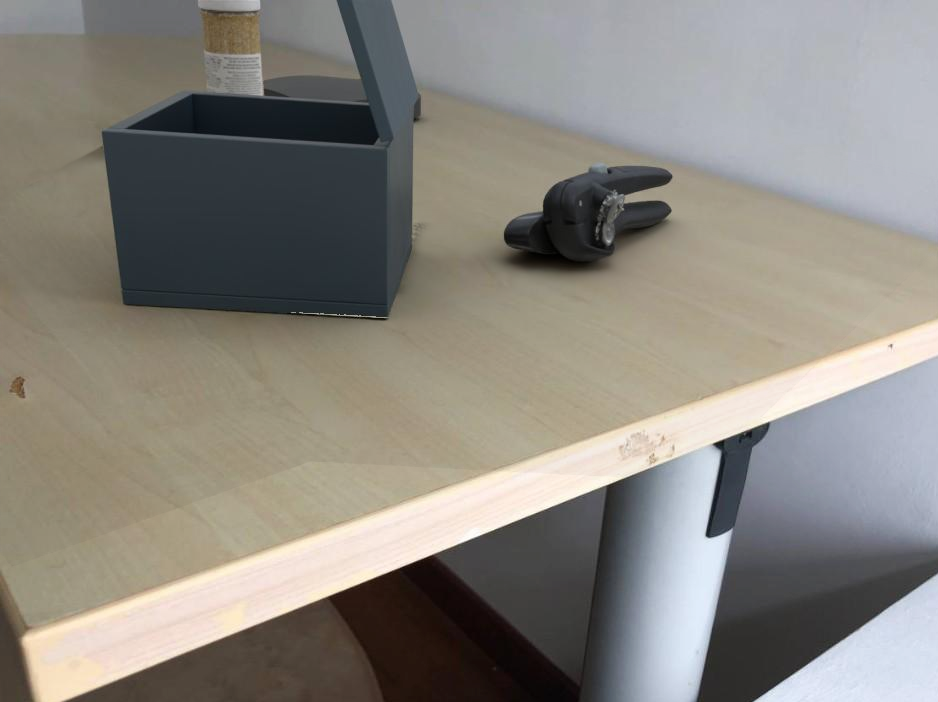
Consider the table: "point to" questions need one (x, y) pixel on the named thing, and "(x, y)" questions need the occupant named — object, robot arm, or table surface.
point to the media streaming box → (321, 89)
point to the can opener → (589, 212)
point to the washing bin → (260, 204)
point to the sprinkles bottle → (232, 46)
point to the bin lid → (380, 62)
